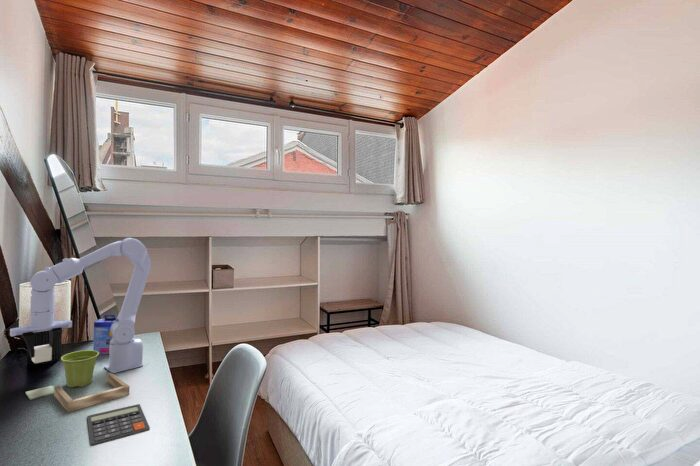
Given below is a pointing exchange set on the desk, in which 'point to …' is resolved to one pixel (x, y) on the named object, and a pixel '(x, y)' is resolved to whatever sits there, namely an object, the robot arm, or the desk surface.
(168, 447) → the desk surface
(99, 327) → the ink cartridge box
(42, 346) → the cream block
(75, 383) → the plant pot
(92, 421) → the calculator
